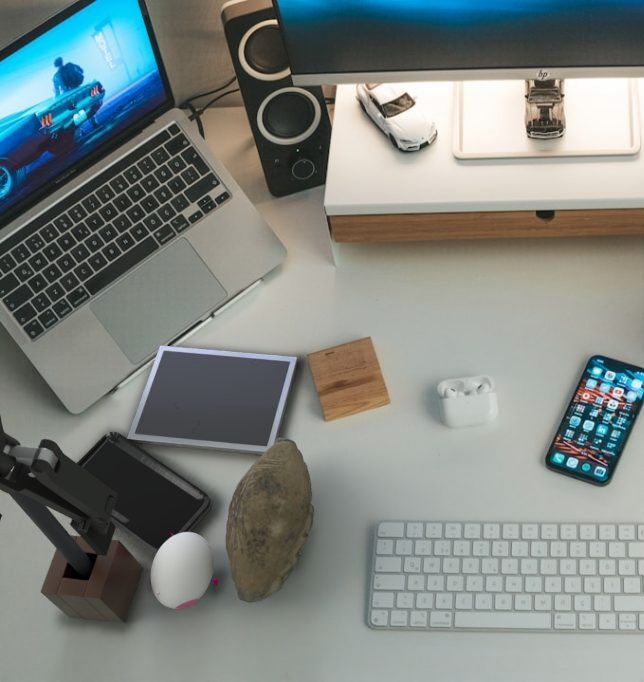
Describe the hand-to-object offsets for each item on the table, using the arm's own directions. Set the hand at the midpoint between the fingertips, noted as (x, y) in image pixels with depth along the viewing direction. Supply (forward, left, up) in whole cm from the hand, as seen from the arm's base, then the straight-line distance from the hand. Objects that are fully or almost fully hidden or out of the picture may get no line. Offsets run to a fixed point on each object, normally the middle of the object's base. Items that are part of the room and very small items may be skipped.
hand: (49, 534), depth 96 cm
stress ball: (+8, +2, -15) cm, 16 cm away
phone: (0, +11, -14) cm, 18 cm away
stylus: (0, 0, -14) cm, 14 cm away
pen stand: (0, 0, -14) cm, 14 cm away
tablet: (+5, +23, -14) cm, 27 cm away
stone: (+16, +8, -15) cm, 23 cm away
